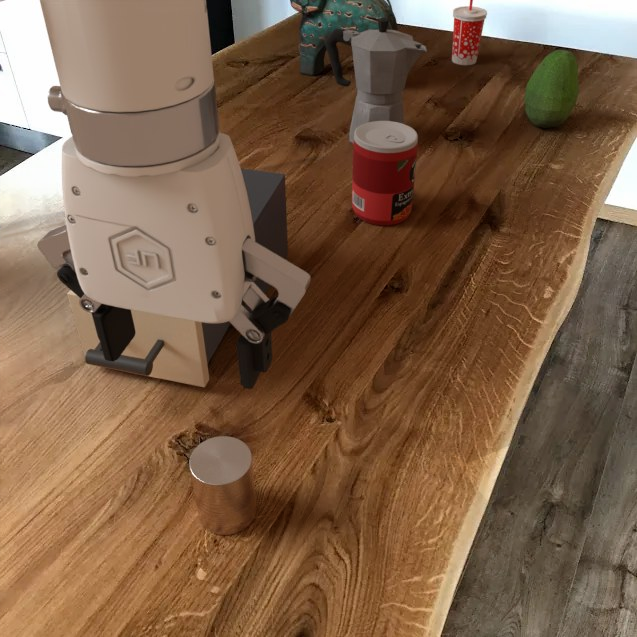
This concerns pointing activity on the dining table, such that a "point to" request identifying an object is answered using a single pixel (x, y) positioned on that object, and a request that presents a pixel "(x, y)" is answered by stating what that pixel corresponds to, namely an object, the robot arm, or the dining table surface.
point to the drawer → (155, 345)
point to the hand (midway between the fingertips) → (186, 360)
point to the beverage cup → (467, 33)
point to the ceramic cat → (335, 25)
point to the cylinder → (223, 484)
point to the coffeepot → (376, 71)
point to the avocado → (552, 89)
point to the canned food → (383, 172)
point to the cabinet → (267, 214)
